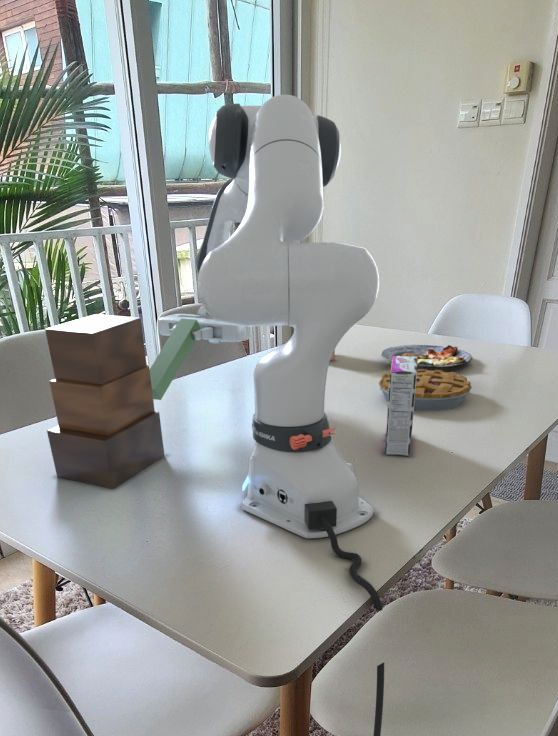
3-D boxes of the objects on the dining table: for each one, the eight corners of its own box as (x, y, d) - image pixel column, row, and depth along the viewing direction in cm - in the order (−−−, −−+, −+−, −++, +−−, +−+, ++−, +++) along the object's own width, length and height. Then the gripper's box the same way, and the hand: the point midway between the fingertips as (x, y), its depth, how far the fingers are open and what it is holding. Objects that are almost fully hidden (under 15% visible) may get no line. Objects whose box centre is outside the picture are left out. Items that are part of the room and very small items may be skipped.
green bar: (185, 329, 134) (180, 318, 132) (201, 330, 133) (196, 319, 130) (144, 397, 126) (138, 387, 123) (160, 400, 124) (154, 389, 122)
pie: (372, 410, 142) (374, 388, 140) (381, 382, 160) (383, 363, 158) (471, 415, 137) (474, 393, 135) (469, 386, 156) (472, 366, 153)
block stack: (111, 446, 127) (89, 313, 113) (164, 455, 122) (147, 318, 108) (56, 477, 114) (24, 331, 101) (113, 488, 109) (87, 338, 96)
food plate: (471, 354, 183) (473, 342, 181) (471, 376, 163) (472, 362, 162) (386, 350, 189) (387, 338, 187) (376, 371, 170) (377, 358, 168)
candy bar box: (386, 434, 129) (392, 355, 120) (410, 436, 128) (418, 355, 119) (383, 455, 119) (389, 370, 111) (409, 457, 118) (418, 371, 110)
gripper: (176, 304, 143) (140, 316, 133) (255, 310, 135) (223, 323, 125) (179, 332, 146) (144, 346, 136) (256, 339, 139) (225, 354, 128)
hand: (183, 335), depth 130 cm, fingers closed on green bar, 4 cm apart
